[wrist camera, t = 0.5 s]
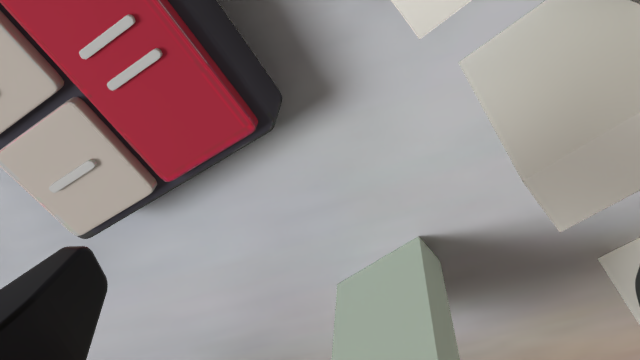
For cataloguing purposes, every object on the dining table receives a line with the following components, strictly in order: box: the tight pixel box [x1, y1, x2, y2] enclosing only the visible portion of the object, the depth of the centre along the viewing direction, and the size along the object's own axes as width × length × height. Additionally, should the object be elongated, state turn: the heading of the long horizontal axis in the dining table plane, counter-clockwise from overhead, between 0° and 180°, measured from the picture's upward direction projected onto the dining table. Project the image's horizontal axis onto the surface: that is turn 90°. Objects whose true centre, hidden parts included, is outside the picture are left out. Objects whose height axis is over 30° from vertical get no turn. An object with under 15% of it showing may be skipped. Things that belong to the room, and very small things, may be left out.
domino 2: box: [458, 0, 640, 232], centre depth 16 cm, size 2×5×10 cm, turn 129°
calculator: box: [0, 0, 282, 239], centre depth 20 cm, size 11×4×15 cm
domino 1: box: [332, 237, 460, 360], centre depth 22 cm, size 2×5×10 cm, turn 129°
